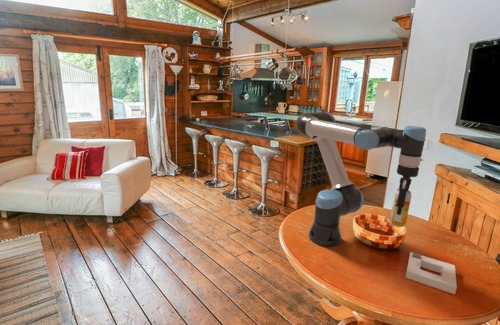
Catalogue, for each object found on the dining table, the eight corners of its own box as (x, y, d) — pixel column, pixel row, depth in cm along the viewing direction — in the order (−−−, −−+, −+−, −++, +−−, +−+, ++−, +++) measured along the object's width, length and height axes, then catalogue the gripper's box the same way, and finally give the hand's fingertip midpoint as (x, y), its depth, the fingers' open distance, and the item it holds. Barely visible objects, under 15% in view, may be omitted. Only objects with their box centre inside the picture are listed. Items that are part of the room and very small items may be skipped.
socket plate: (405, 277, 112) (407, 269, 111) (409, 258, 125) (410, 250, 124) (454, 294, 104) (457, 285, 103) (453, 271, 117) (455, 263, 116)
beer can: (407, 228, 118) (414, 194, 114) (391, 226, 119) (397, 192, 115) (402, 221, 123) (409, 189, 119) (387, 220, 124) (393, 187, 120)
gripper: (417, 172, 104) (406, 229, 111) (420, 162, 120) (410, 212, 126) (395, 168, 108) (385, 224, 114) (400, 159, 124) (391, 208, 130)
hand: (398, 217), depth 120 cm, fingers closed on beer can, 6 cm apart
